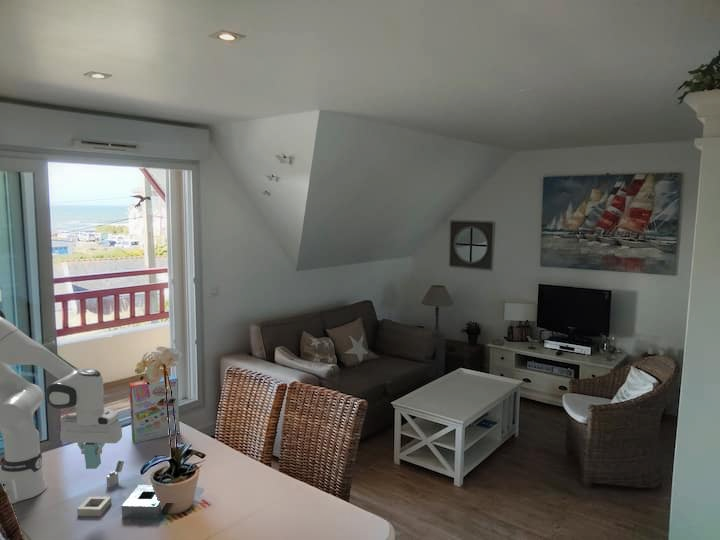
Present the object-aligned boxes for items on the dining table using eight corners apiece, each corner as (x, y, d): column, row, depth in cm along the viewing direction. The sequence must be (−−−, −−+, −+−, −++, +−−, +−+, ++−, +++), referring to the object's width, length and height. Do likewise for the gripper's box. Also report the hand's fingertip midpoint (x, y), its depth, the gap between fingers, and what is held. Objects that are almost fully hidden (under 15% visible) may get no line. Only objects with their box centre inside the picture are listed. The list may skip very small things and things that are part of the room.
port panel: (122, 518, 182) (121, 504, 181) (139, 496, 195) (138, 483, 195) (156, 518, 181) (156, 505, 181) (171, 496, 195) (171, 484, 195)
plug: (86, 468, 184) (83, 442, 182) (91, 463, 187) (88, 437, 185) (96, 468, 184) (93, 442, 182) (100, 463, 187) (98, 437, 185)
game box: (177, 429, 254) (175, 375, 251) (180, 433, 250) (178, 378, 246) (131, 439, 243) (128, 382, 240) (133, 443, 238) (130, 385, 235)
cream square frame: (77, 515, 183) (77, 508, 182) (89, 502, 191) (89, 496, 190) (100, 516, 183) (100, 509, 182) (111, 503, 191) (111, 496, 190)
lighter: (109, 487, 201) (109, 468, 200) (106, 486, 202) (105, 467, 201) (125, 479, 207) (124, 460, 206) (121, 478, 208) (120, 459, 207)
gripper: (55, 418, 180) (57, 457, 181) (115, 420, 179) (116, 458, 181) (65, 411, 186) (67, 448, 187) (123, 412, 186) (124, 450, 187)
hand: (91, 453), depth 184 cm, fingers closed on plug, 4 cm apart
